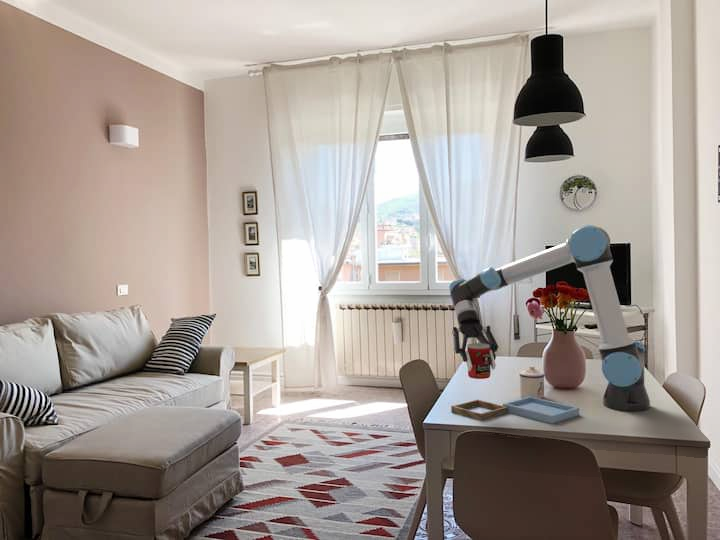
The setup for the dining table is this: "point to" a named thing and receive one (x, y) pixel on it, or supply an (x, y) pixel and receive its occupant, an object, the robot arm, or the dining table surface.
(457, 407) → the frame
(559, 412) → the slate-blue tray
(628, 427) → the dining table surface
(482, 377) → the canned food
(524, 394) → the teacup with lid
